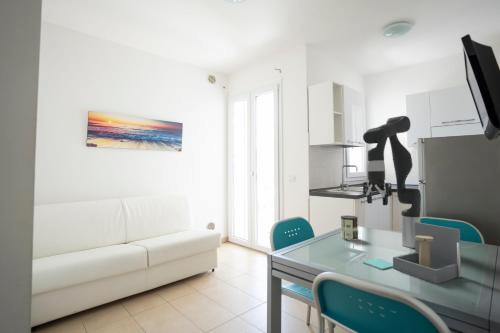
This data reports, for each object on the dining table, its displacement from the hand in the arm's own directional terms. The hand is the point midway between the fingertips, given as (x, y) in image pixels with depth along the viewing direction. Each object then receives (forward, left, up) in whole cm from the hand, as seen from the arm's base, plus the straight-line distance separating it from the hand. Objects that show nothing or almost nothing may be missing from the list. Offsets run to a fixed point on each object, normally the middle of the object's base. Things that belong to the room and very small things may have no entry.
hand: (377, 204), depth 124 cm
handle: (-7, +17, -28) cm, 34 cm away
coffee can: (-22, -39, -28) cm, 53 cm away
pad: (+2, +2, -28) cm, 28 cm away
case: (-7, +17, -28) cm, 33 cm away
